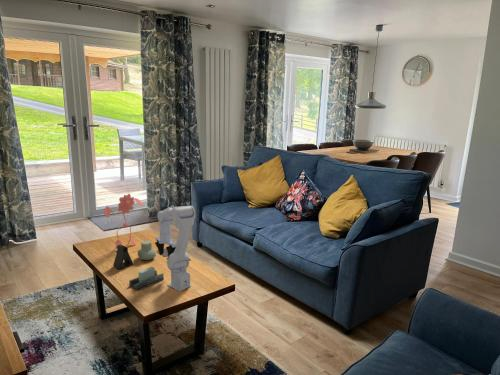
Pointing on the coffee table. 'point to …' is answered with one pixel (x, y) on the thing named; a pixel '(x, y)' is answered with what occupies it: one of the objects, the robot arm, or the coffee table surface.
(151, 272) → the door panel
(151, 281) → the floor track
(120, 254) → the phone stand
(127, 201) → the figurine
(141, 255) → the air freshener
